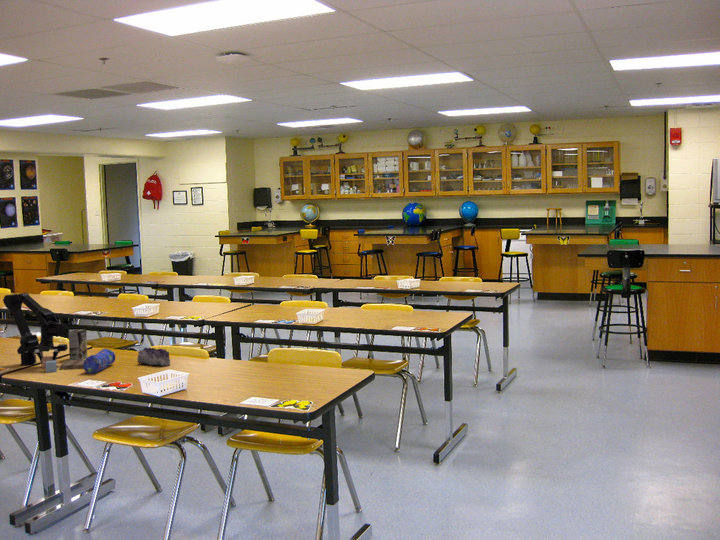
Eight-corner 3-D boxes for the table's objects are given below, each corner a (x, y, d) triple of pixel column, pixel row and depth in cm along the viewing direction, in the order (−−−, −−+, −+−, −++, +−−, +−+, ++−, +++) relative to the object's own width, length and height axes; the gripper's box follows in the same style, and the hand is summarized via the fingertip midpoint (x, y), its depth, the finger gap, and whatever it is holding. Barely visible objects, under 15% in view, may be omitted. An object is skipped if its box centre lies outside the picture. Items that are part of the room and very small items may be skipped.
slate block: (46, 372, 345) (45, 363, 345) (46, 370, 349) (45, 361, 349) (56, 371, 347) (56, 362, 347) (56, 369, 352) (56, 360, 351)
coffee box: (80, 361, 371) (79, 331, 370) (69, 361, 371) (67, 331, 370) (88, 357, 380) (86, 328, 379) (76, 357, 380) (75, 328, 379)
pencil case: (98, 374, 340) (98, 355, 339) (81, 374, 341) (81, 355, 340) (116, 364, 362) (116, 347, 361) (100, 364, 363) (100, 346, 362)
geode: (178, 363, 364) (176, 345, 362) (163, 371, 354) (161, 352, 352) (149, 358, 373) (148, 341, 371) (134, 365, 363) (132, 347, 361)
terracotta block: (42, 367, 356) (41, 358, 356) (44, 365, 361) (44, 356, 360) (52, 367, 357) (51, 357, 357) (54, 365, 362) (54, 355, 361)
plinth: (60, 369, 352) (60, 365, 351) (65, 364, 363) (65, 360, 363) (85, 368, 354) (84, 364, 354) (89, 363, 366) (89, 359, 365)
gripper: (23, 338, 348) (24, 368, 349) (62, 337, 351) (63, 367, 353) (29, 334, 359) (30, 364, 360) (67, 333, 362) (68, 362, 364)
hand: (48, 364), depth 359 cm, fingers closed on terracotta block, 5 cm apart
